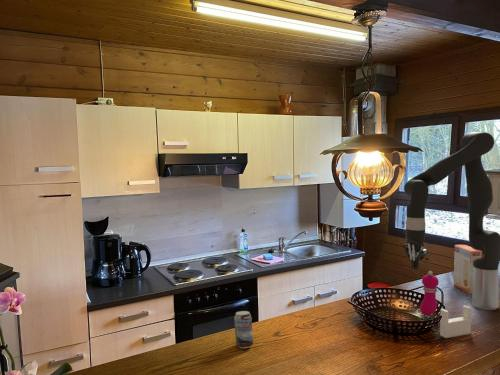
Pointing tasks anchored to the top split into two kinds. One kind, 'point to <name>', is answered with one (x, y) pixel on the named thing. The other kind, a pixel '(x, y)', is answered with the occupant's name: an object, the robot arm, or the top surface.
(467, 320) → the u rest
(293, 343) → the top surface
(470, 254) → the cracker box
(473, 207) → the robot arm
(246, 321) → the beverage can
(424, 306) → the pepper mill
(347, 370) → the top surface
